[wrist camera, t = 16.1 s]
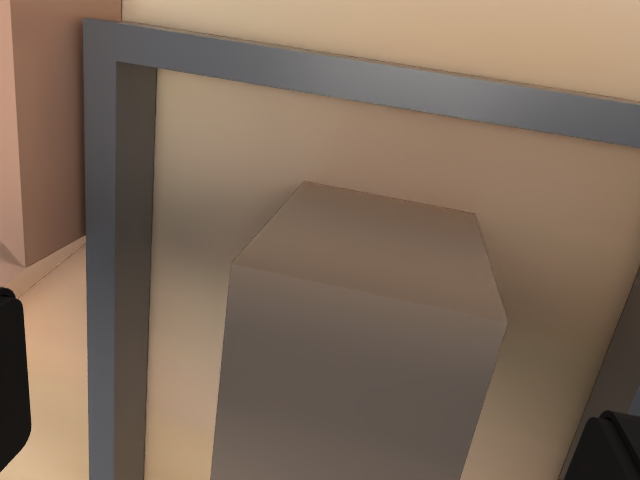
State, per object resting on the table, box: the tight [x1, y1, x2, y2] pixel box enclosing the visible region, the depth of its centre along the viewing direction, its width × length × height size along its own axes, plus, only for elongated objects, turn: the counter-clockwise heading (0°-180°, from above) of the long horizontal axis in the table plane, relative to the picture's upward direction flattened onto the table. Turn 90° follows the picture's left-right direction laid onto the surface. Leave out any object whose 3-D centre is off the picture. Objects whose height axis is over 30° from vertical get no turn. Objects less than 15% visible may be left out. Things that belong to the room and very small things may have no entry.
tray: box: [83, 18, 640, 480], centre depth 16 cm, size 15×20×2 cm
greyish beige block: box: [210, 181, 508, 480], centre depth 12 cm, size 4×5×6 cm
